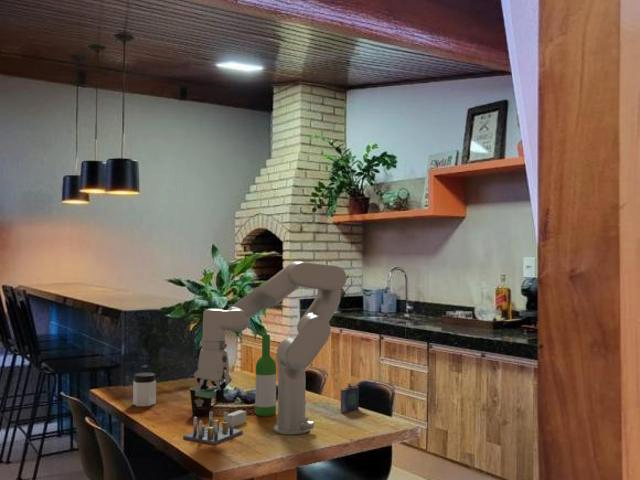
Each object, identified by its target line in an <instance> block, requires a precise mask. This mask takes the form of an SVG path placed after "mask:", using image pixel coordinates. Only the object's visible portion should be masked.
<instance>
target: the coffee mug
mask: <svg viewBox="0 0 640 480" xmlns="http://www.w3.org/2000/svg"><path fill="white" fill-rule="evenodd" d="M207 386H208V385H207ZM210 387H212V386H211V385H209V386H208V388H210ZM200 389H201V387H199V385H197V386H192V387H190V388H189V393H190V394H189V395H190V401H191V411H192V413H191V414H192V416H193V417H197V418H204V417H203V416H205V417H208V416H207V415H209V412H211V409H212V408H213V407H214V406H216V405H218V404H219V403H220V402H215V403H214V404H212V402H213V401H212V400H213V397H212V398H205V399H200V397H199V396H195V391H198V390H200Z"/></svg>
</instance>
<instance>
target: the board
mask: <svg viewBox="0 0 640 480" xmlns="http://www.w3.org/2000/svg"><path fill="white" fill-rule="evenodd" d="M216 390H218V388H217V385H216V386H215V385H214V386H211V387H210V388H206V389H202V390H198V391H195V396H199V397H205V398H212V399H213V398H216ZM226 394H229V388H227V387H226V388H225V389H224V395H226Z"/></svg>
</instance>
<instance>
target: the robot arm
mask: <svg viewBox="0 0 640 480" xmlns="http://www.w3.org/2000/svg"><path fill="white" fill-rule="evenodd" d="M347 280H348V278H347V273H346V272H345V270H344V269H343V268H342V267H340V266H338V265H329V264H323V263H322V264H321V263H311V262H307V261H293V262H291V263H289V264H287V266H285V267H283V269H281V270H279V271H278V272H277V273H276V274H274V275H273V276H272V277H270V278H269V279H268V280H266V281H265V282H263V283H262V284H261V285H259V286H258V287H257V288H255V289H254V290H252V291H250V292H249V293H247V294H246V295H244V296H242V298H240V299H239V300H238V301H237V302H235V303H234V304H232V305H231V306H229V307H228V308H227V310H225V309H222V308H207V309H205V310H204V311H203V313H202V340H201V341H202V342H201V343H202V344H201V346H202V347H201V349H200V352H199V357H198V366H197V370H196V371H195V372H194V373H193V376H194V378H195V379H196V382H197V383H198V386H199V387H201V389H200V390H202V389H206V388H208V383H209V381H213V382H215V384H216V387H217V388H218V390H216V397H215V403H217V402H219V403H220V402H222V401H223V402H224V398H225V397H224V395H225V394H224V389H225V388H227V386H228V385H229V384H230V383H231V382H232V376H230V372H229V371H230V370H229V368H230V367H229V356H228V351H227V350H226V349H227V347H228V345H227V343H226V331H228V332H237V333H238V332H243V331H245V330H246V329H247V328H249V326H250V324H251V323H250V321H251V318H253V316H255V315H257V313H260V312H262V311H263V310H265V309H268V308H271V307H274V306H276V305H278V304H280V303H281V302H282V301H283V300H285V299H286V298H287V297H288V296H290V295H291V294H292V293H293V292H295V291H297V290H298V289H299V288H300V287H301V288H306V289H315V290H317V294H316V296H315V298H314V300H313V301H312V302H311V304H310V306H309V307H308V308H307V309H306V311H305V312H304V314H303V315H302V317H300V318H299V321H298V322H297V324H296V325H297V326H296V329H297V335H296V336H295V337H289V338H288V337H287V338H285V339H283V340H282V341H281V342H280V343H279V345H278V347H277V349H276V363H277V364H276V366H277V386H278V395H277V423H275V425H273V428H272V429H273V431H274V432H275V433H277V434H281V435H287V436H288V435H292V436H293V435H301V434H305V433H309V431H310V430H314V428H315V422H314V421H309V417H308V416H306V378H307V377H306V369H307V368H308V367H309V366H310V365H311V364H312V362H313V361H314V360H315V358H316V357H317V356H318V355H319V353H320V352H321V350H322V349H323V348H324V346H325V345H326V343H327V341H328V340H329V338H330V335H331V325H330V321H331V319H332V318H333V316H334V314H335V313H336V312H337V310H338V307H339V305H340V303H341V299H342V298H341V296H342V293H341V292H342V291H341V289H342V288H343V287H344V286H345V285H346V284H347ZM200 399H205V397H200Z"/></svg>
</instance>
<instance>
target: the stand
mask: <svg viewBox="0 0 640 480" xmlns="http://www.w3.org/2000/svg"><path fill="white" fill-rule="evenodd" d="M230 415H233V428H235V427H238V426H240V425H242V424H246V423H247V411H246V410H241V409H239V410H236V411H233V412H231V413H227V422H228V428H230Z"/></svg>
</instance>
